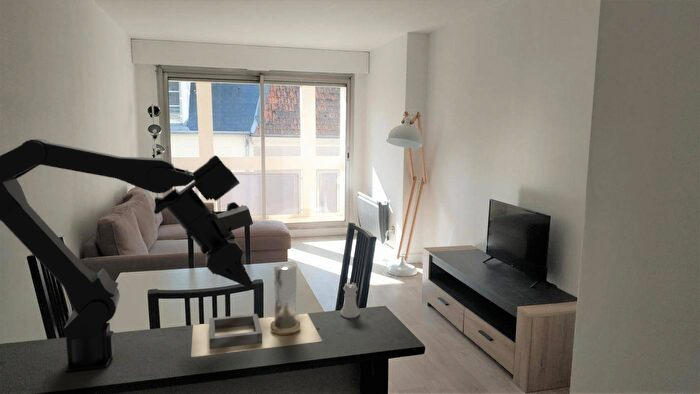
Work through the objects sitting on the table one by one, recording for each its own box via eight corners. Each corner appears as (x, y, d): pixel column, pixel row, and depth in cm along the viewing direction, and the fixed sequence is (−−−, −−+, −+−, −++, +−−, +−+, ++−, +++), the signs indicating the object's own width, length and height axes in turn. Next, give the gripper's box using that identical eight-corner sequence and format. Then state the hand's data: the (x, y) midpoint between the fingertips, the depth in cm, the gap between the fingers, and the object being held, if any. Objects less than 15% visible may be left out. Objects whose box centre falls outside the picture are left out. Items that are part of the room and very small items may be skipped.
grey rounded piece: (272, 337, 89) (272, 273, 87) (268, 325, 95) (268, 264, 93) (302, 334, 91) (303, 271, 89) (297, 322, 96) (297, 262, 95)
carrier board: (191, 362, 81) (190, 346, 81) (193, 329, 94) (192, 315, 94) (322, 346, 88) (322, 331, 88) (307, 317, 101) (307, 304, 101)
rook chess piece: (351, 324, 98) (352, 289, 97) (335, 319, 101) (336, 284, 100) (363, 318, 102) (364, 283, 100) (348, 313, 104) (348, 279, 103)
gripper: (236, 196, 77) (290, 264, 82) (225, 184, 94) (271, 240, 99) (181, 238, 74) (240, 305, 79) (180, 218, 92) (229, 274, 97)
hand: (247, 278), depth 89 cm, fingers open, 9 cm apart
